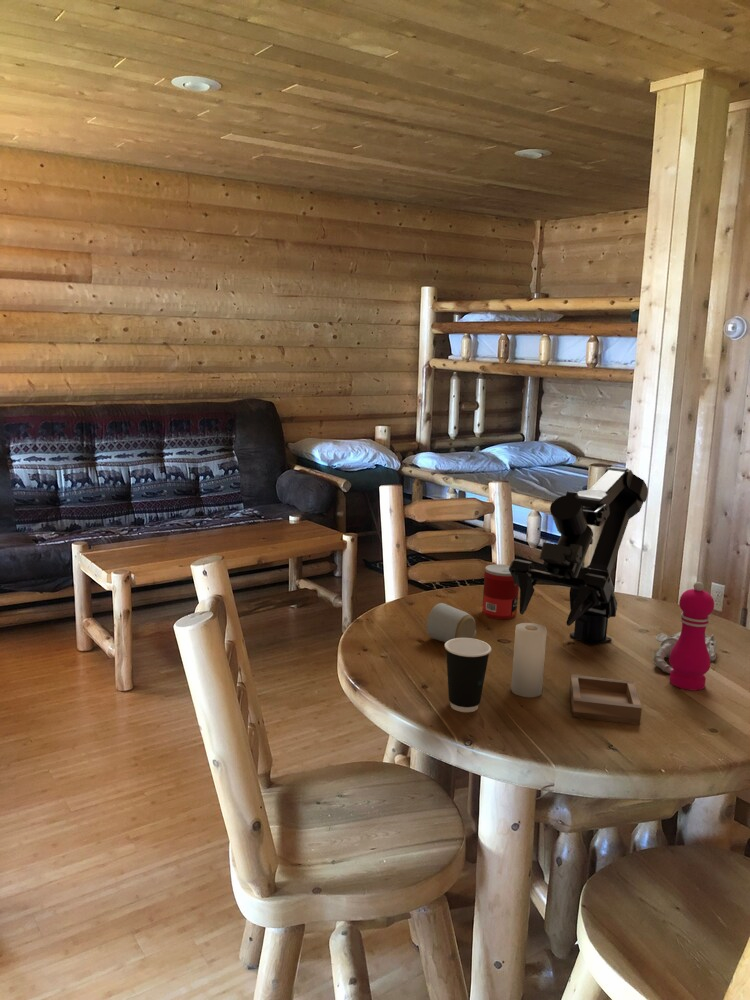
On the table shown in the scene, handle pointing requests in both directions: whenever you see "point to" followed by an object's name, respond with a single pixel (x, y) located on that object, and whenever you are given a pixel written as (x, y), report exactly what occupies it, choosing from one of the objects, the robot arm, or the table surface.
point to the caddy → (604, 699)
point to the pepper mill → (692, 640)
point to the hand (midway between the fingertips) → (544, 619)
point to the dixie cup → (466, 672)
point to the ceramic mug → (449, 623)
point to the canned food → (499, 592)
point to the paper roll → (528, 659)
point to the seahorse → (669, 644)
